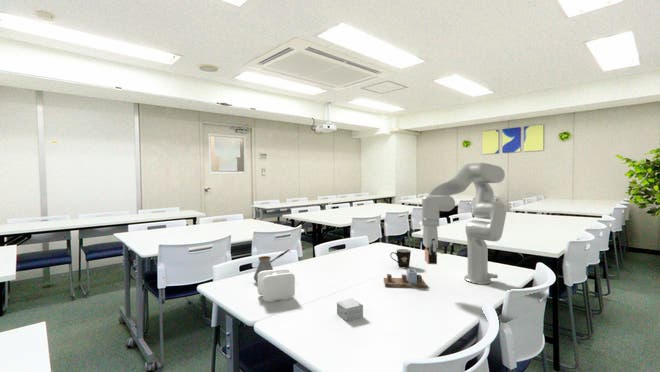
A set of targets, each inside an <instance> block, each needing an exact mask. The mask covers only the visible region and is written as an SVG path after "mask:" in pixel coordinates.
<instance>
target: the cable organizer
mask: <svg viewBox="0 0 660 372" xmlns="http://www.w3.org/2000/svg"><path fill="white" fill-rule="evenodd" d="M257 276H258V283H257V294H258V295H259V296H262V298H263V300H264V301H265V302H268V303H271V302H272V301H273V302H277V301H278V300H279V301H280V300H283V301H285V299H286V300H290V299H292V298H293V297H294V296H295V294H296V289H295V288H296V285H295V283H296V281H295V280H296V277H295V274H294V273H293V272H290V270H289V269H288V268H284V267H283V268H277V269H273V270H267V271H261V272H259V273H258V275H257Z"/></svg>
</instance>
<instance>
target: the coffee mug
mask: <svg viewBox="0 0 660 372" xmlns="http://www.w3.org/2000/svg"><path fill="white" fill-rule="evenodd" d="M411 252H412V251H411V250H410V249H407V248H398V249H396V252H394V251H393V252H391V253H390V254H389V255H390V258H391V259H392V260H393V261H395V262H396V263H397V267H398V266H399V267H398V268H400V267H409V268H410V262H411V254H412V253H411ZM392 254H395V255H396V257H397V260H396V259H395V258H393V257H392Z"/></svg>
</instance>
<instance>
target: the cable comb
mask: <svg viewBox="0 0 660 372" xmlns="http://www.w3.org/2000/svg"><path fill="white" fill-rule="evenodd" d="M383 284H384V287H385V288H412V287H414V288H415V289H419V288H420V289H426V288H427V283H426V282H425V281H424V279H423V276H422V275H421V274H417V284H415V283H408V281H407V273H406V274H405V273H404V274H403V273H402V274H401V277H393V276H392V274H390V273H387V274H386V277H383Z"/></svg>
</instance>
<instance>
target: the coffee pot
mask: <svg viewBox="0 0 660 372" xmlns="http://www.w3.org/2000/svg"><path fill="white" fill-rule="evenodd" d="M287 253H290V254H291V253H292V252H291V249H287V250H284V252H282V253H280V254H279V255H277V256H276V257H275V258H273V259H271V258H272V256H270V255H269V256H267V255H266V256H264V255H263V256H259V257H258V260H259V263H258V265H257V268H256V271H255V273H254V274H253V280H254V281H255V282H258V276H257V275H258V273H259V272H261V271H267V270H274V268H273V266H272V264H271V263H273V262H274V261H275V260H277V259H279V258H281V257H282V256H284V255H285V254H287Z"/></svg>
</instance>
